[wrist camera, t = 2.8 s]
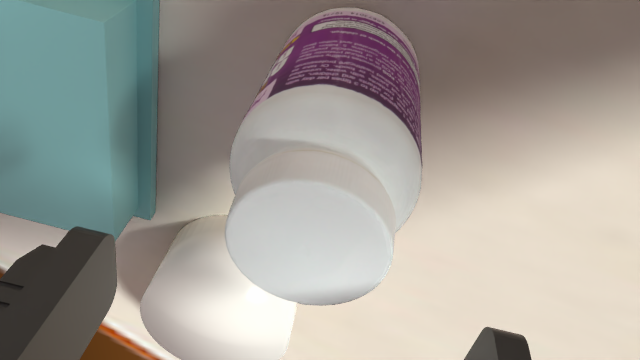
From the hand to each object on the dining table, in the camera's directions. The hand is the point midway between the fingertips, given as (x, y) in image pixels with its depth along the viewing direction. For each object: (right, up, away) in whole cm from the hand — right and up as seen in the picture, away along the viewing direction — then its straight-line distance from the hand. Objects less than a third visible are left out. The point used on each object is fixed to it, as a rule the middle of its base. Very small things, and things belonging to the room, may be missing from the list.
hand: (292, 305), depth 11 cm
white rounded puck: (-4, -2, +16) cm, 16 cm away
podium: (-12, +7, +11) cm, 17 cm away
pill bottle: (+2, +7, +9) cm, 11 cm away
